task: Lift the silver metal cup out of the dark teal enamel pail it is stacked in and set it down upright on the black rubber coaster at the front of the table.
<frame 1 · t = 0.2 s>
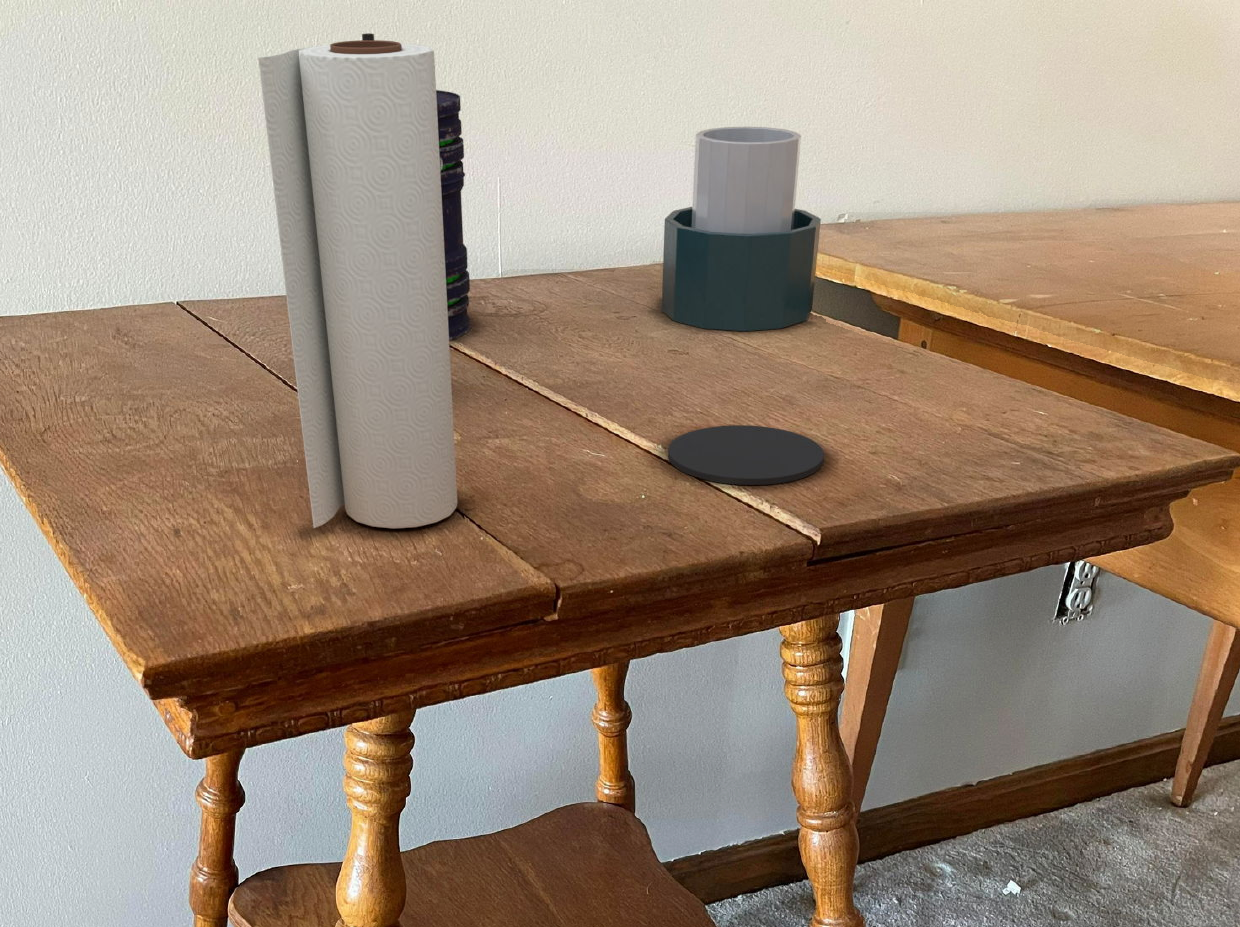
paper towel roll: (391, 514, 74), on the table
coaster: (745, 457, 80), on the table
pail: (736, 310, 106), on the table
silver cup: (742, 225, 103), in the pail
drinking cup: (396, 396, 90), on the table
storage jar: (405, 330, 103), on the table
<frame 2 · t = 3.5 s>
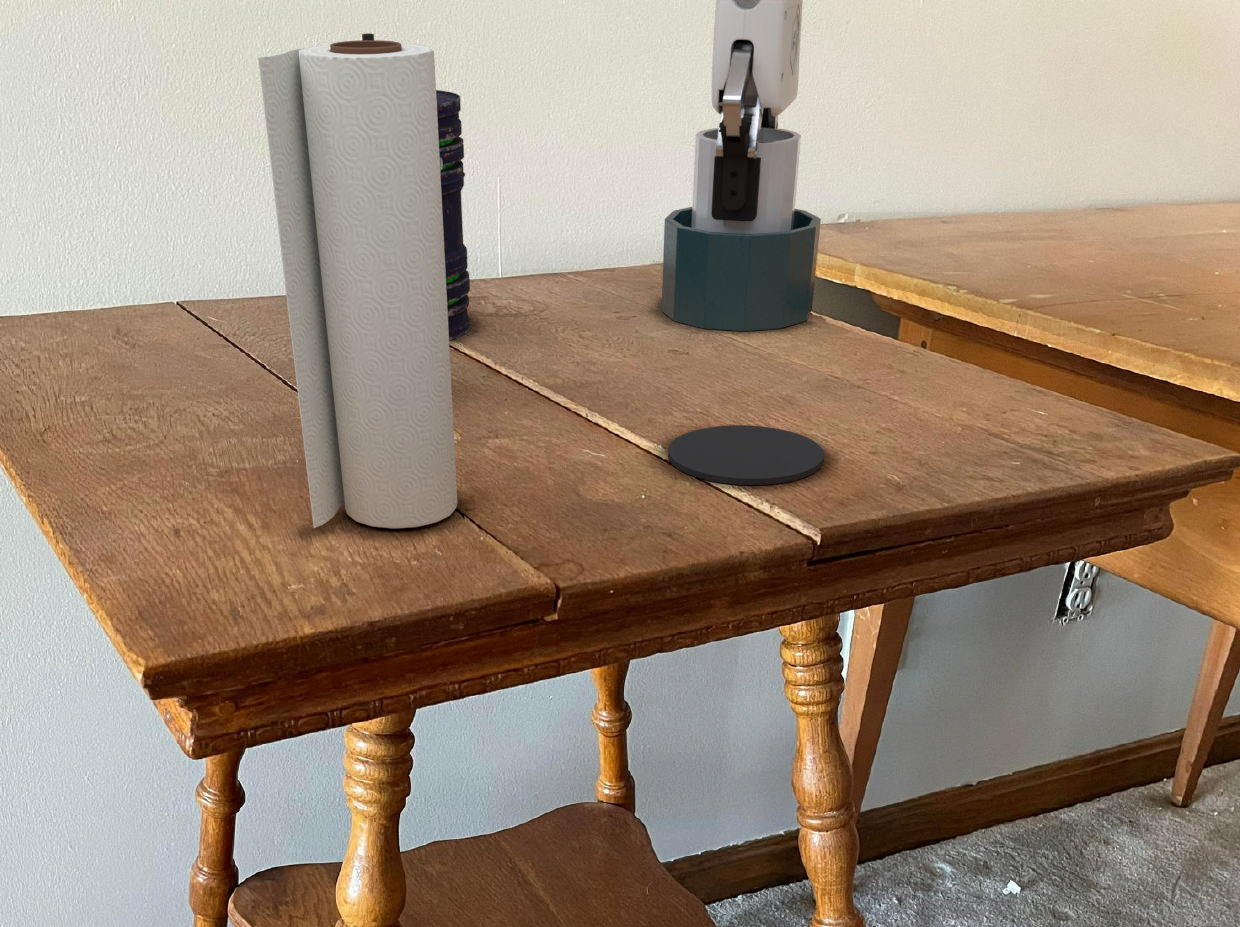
hand: (743, 206, 102), 7 cm above the table, tool pointing down, fingers closed on silver cup, 7 cm apart
silver cup: (742, 225, 103), in the pail, touching gripper
everything else where it was.
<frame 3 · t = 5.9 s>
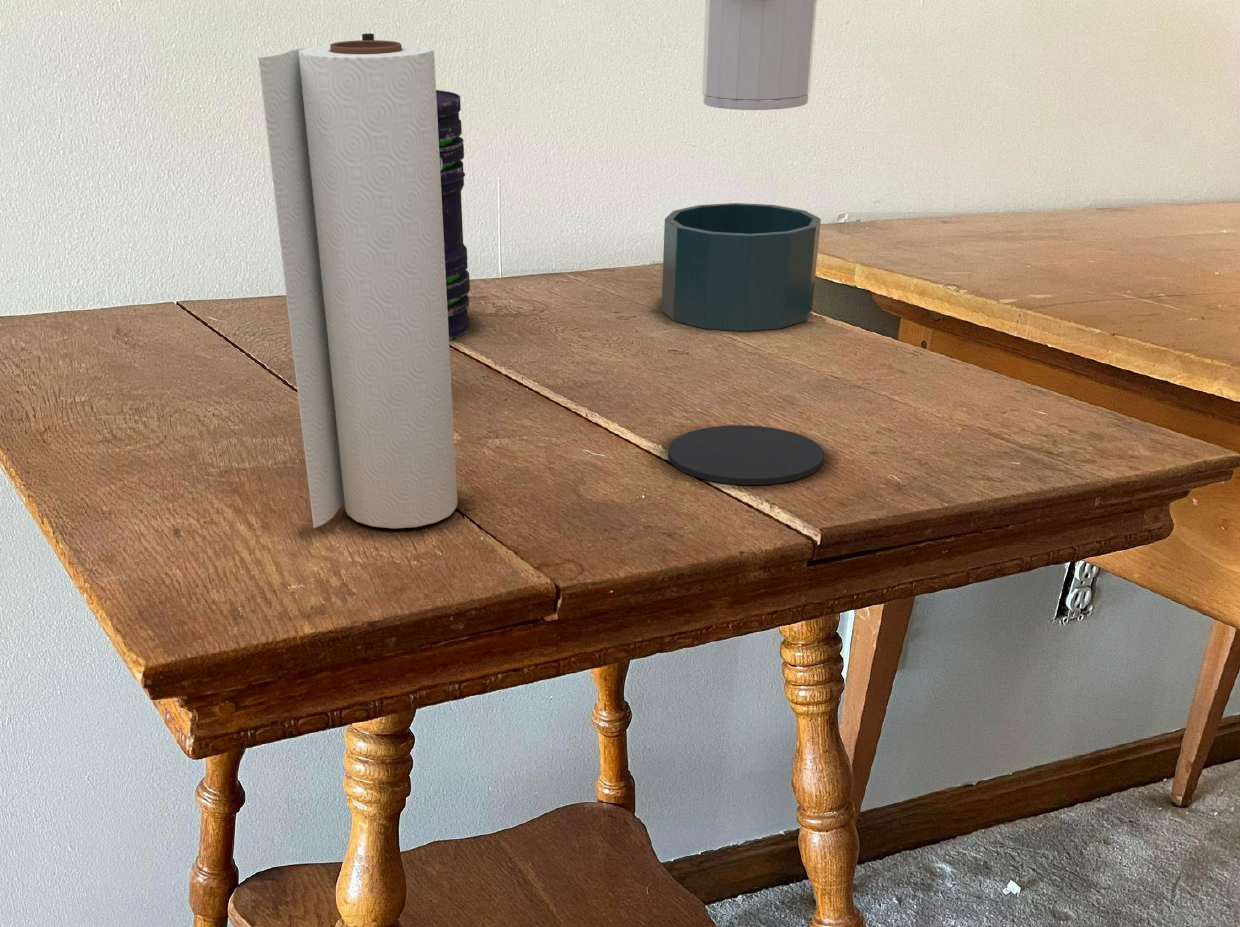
silver cup: (761, 1, 94), point 20 cm above the table, touching gripper
everything else where it was.
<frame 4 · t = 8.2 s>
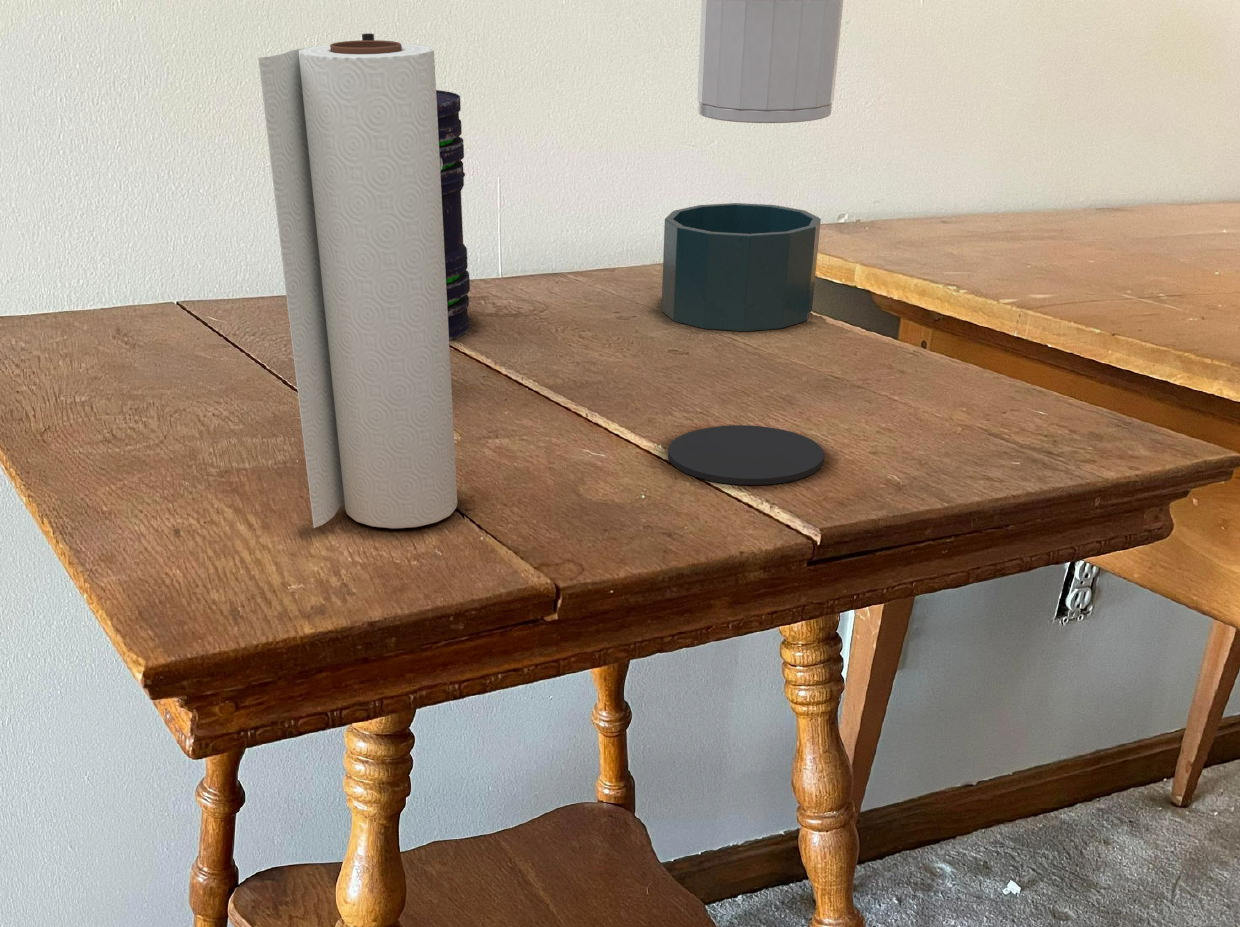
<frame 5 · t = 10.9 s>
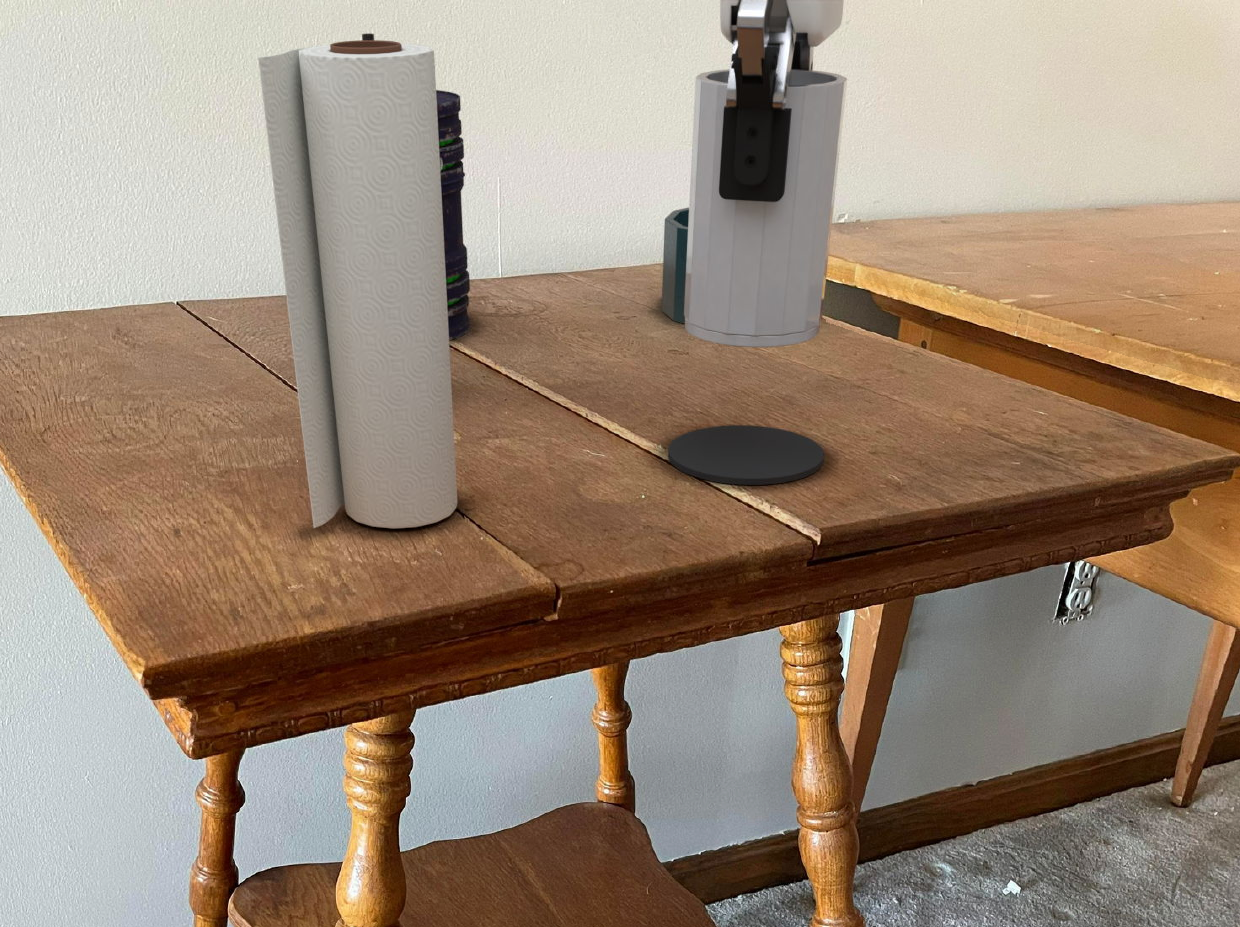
hand: (764, 182, 72), 14 cm above the table, tool pointing down, fingers closed on silver cup, 7 cm apart
silver cup: (761, 209, 72), point 13 cm above the table, touching gripper
everything else where it was.
when the fingers open (8 cm above the table, at t = 13.1 s): silver cup stays where it is, resting on coaster.
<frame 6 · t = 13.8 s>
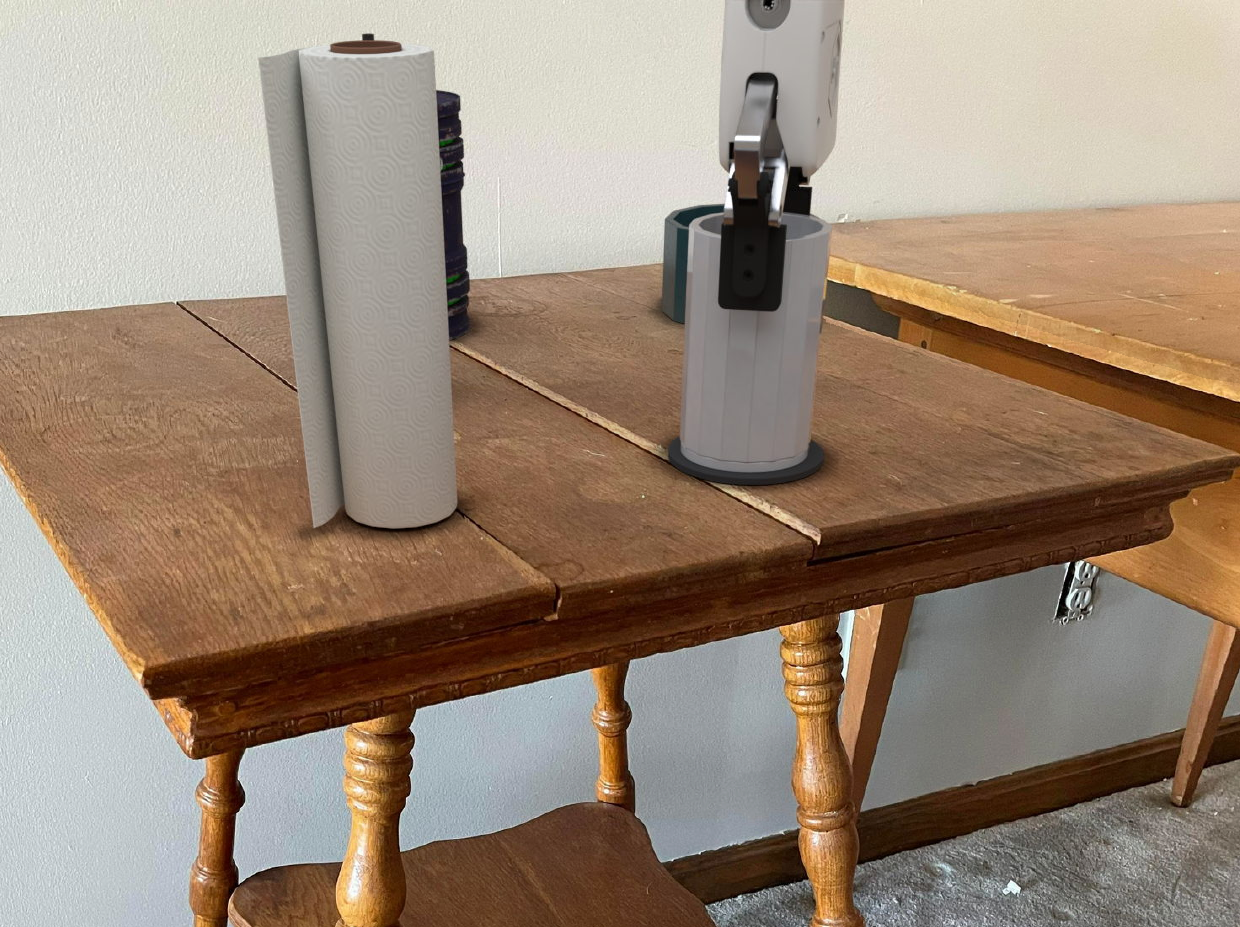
hand: (763, 285, 75), 9 cm above the table, tool pointing down, fingers open, 9 cm apart
silver cup: (752, 343, 77), on the coaster
everything else where it was.
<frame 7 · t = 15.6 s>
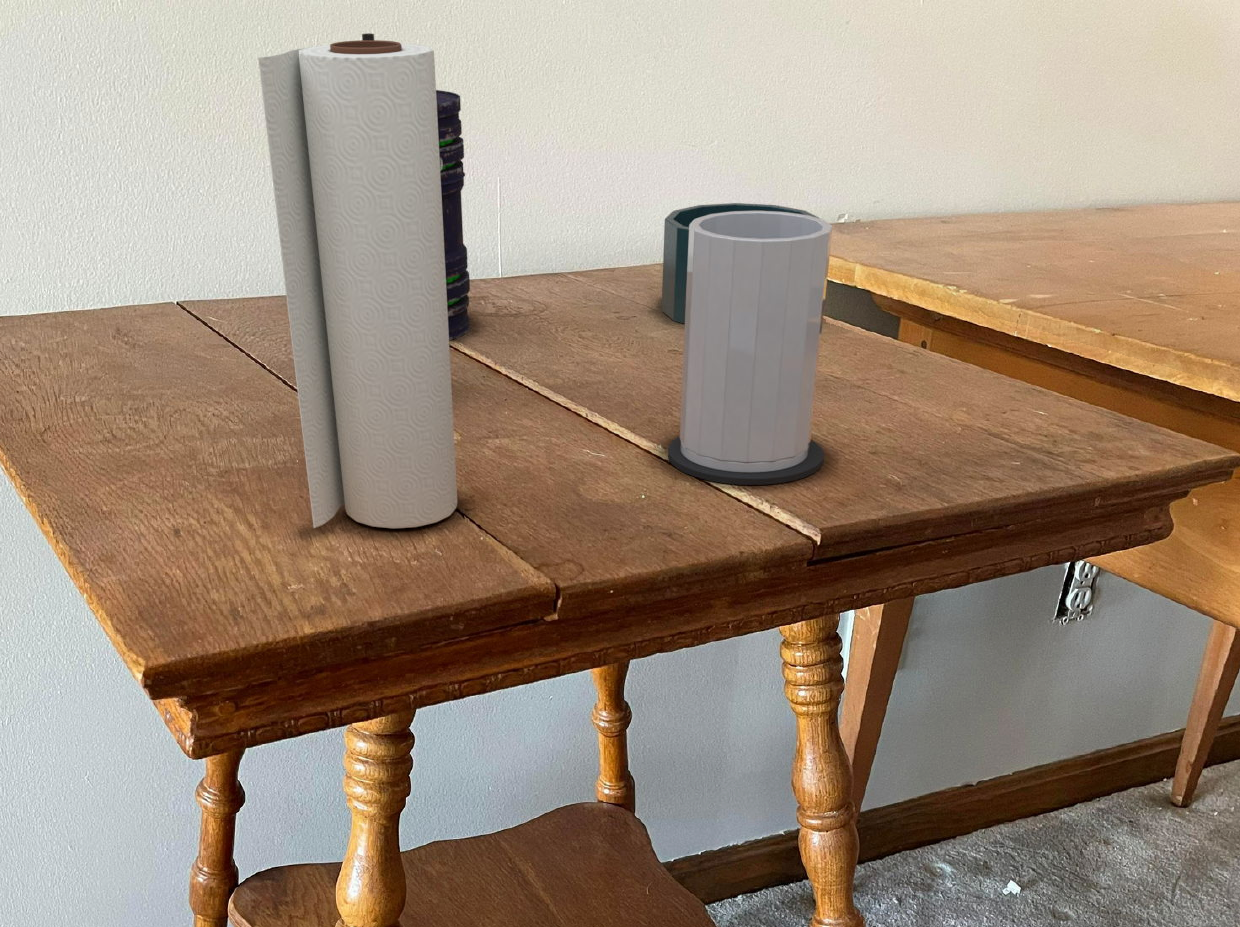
nothing on the table moved.
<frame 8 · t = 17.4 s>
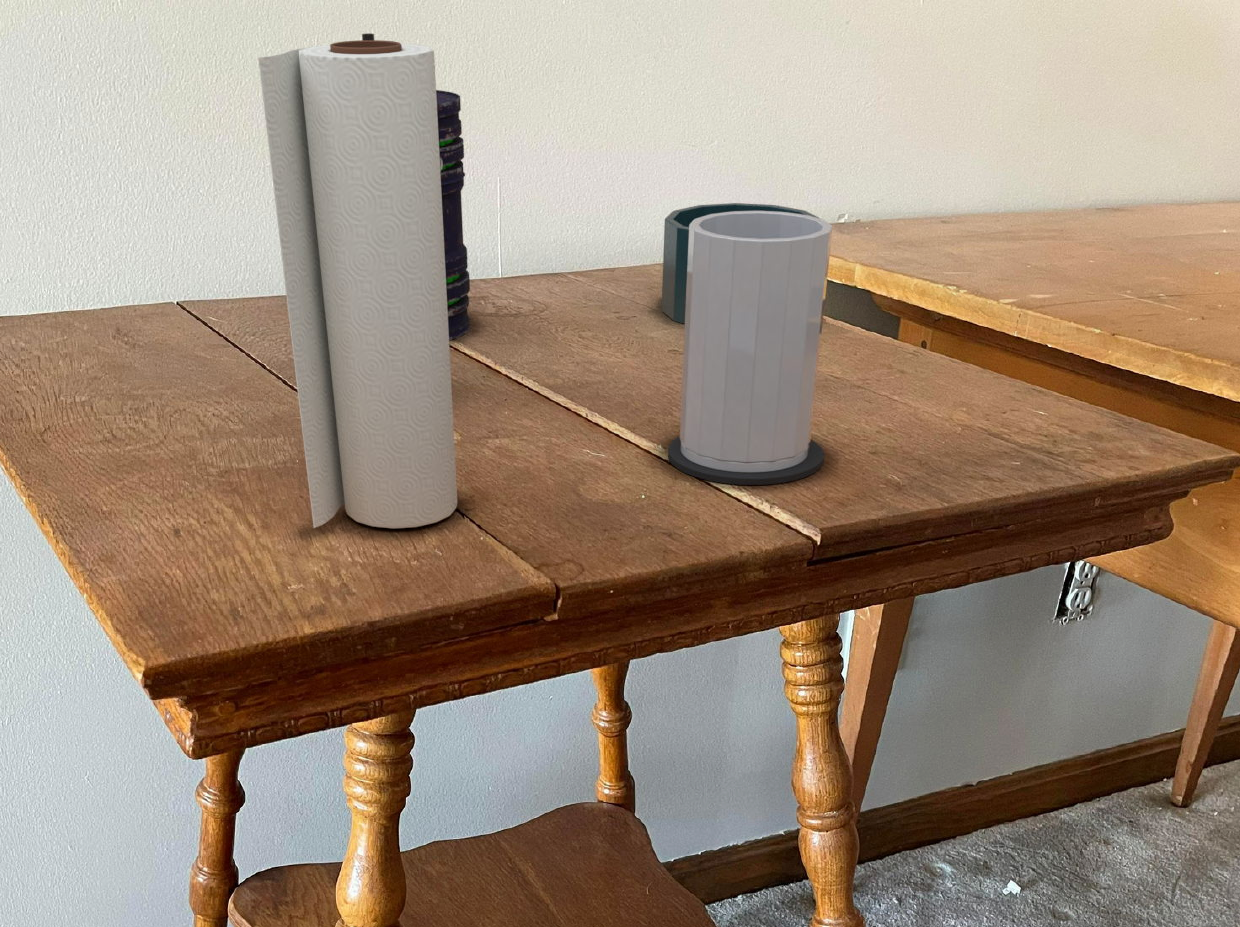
nothing on the table moved.
at the end: silver cup 0.1 cm off-centre on the coaster, point 6.4 cm above the coaster's base; silver cup tilted 0°; the gripper is holding nothing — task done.
